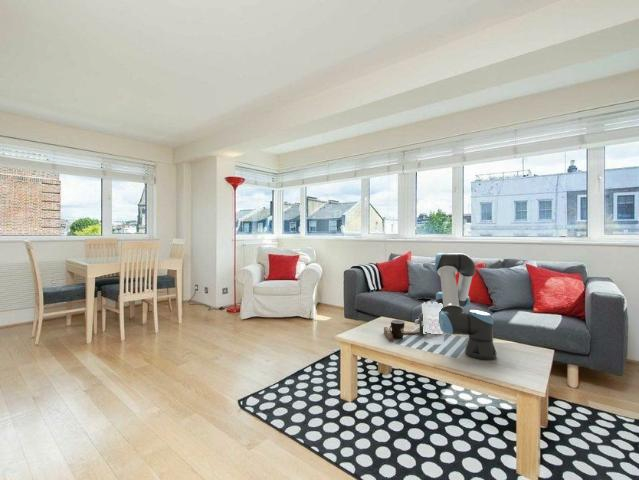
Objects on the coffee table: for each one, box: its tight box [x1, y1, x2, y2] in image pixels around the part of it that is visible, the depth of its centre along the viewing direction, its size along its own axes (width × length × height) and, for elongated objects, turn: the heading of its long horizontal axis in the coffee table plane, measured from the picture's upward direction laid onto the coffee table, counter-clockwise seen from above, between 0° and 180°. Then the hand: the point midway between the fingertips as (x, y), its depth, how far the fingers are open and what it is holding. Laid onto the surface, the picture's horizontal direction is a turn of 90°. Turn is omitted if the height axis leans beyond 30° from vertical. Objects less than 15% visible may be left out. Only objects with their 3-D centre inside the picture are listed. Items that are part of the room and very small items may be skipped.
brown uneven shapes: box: [383, 312, 424, 342], centre depth 205 cm, size 17×27×13 cm, turn 90°
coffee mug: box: [388, 319, 405, 340], centre depth 203 cm, size 12×9×10 cm
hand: (418, 323), depth 207 cm, fingers closed on brown uneven shapes, 4 cm apart
